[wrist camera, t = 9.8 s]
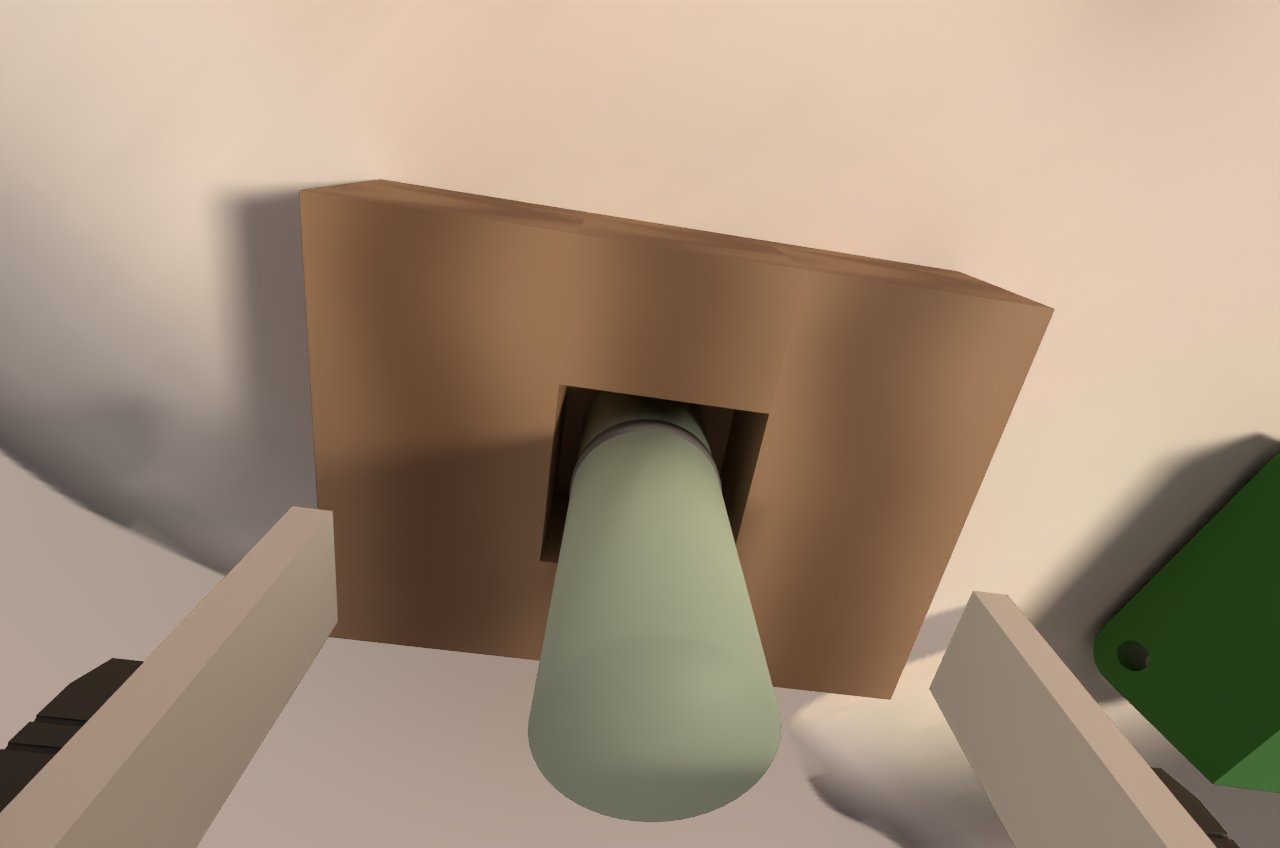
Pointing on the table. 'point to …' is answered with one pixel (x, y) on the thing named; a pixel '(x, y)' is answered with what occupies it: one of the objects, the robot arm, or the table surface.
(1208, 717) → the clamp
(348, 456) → the board
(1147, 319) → the table surface
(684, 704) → the peg
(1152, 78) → the table surface
